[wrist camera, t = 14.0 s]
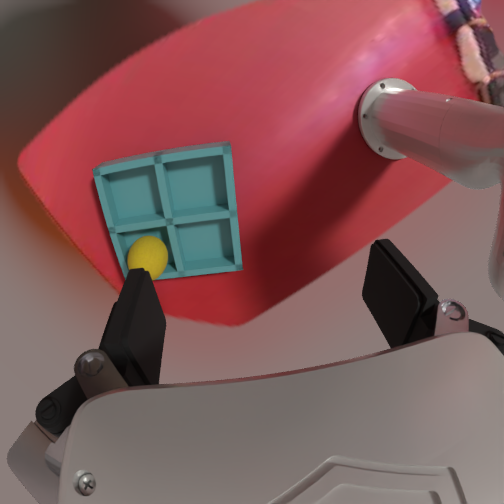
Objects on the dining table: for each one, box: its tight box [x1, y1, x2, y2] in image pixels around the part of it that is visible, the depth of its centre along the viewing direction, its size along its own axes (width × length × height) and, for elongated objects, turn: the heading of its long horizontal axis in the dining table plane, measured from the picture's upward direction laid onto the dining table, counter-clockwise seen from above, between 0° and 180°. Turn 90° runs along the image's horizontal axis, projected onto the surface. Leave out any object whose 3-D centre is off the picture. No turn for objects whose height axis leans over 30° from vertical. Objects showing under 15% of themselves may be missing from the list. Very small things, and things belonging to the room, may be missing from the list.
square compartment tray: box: [92, 141, 243, 280], centre depth 37 cm, size 18×18×4 cm
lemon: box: [128, 236, 168, 281], centre depth 37 cm, size 6×6×8 cm
